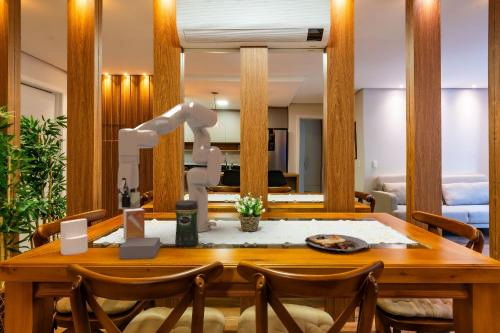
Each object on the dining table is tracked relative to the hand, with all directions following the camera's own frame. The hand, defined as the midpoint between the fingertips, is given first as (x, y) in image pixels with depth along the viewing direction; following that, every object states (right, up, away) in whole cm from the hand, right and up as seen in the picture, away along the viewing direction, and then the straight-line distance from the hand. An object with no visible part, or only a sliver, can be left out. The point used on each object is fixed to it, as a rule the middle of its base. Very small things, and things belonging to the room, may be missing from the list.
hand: (129, 205), depth 121 cm
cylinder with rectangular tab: (-21, -18, -2) cm, 27 cm away
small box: (-5, -17, +19) cm, 26 cm away
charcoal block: (+6, -18, -5) cm, 20 cm away
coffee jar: (+21, -18, +8) cm, 29 cm away
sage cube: (0, -1, 0) cm, 1 cm away
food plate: (+83, -18, +6) cm, 85 cm away
